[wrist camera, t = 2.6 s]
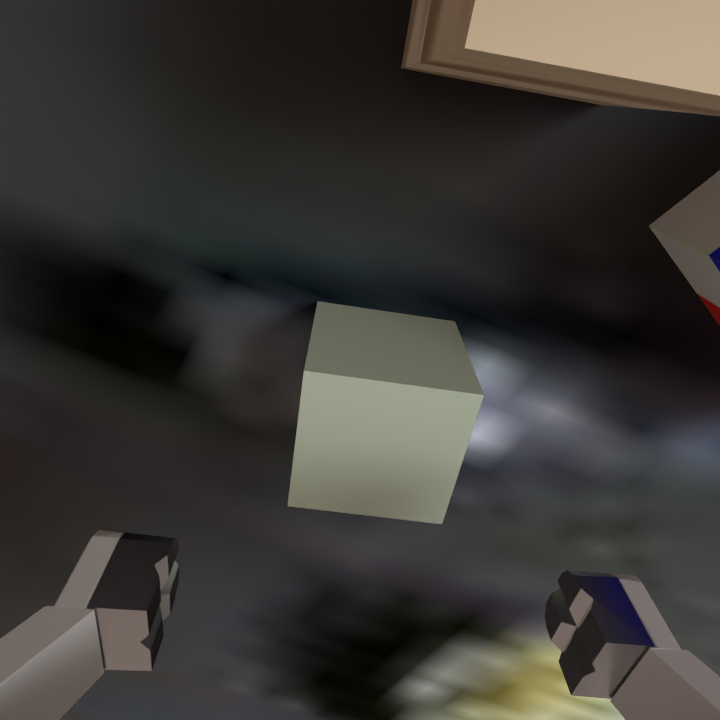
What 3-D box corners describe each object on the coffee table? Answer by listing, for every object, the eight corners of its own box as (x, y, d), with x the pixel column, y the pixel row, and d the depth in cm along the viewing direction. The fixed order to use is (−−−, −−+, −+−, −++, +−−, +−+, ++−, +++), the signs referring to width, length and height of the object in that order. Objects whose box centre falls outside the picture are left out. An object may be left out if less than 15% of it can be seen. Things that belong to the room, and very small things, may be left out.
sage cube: (424, 430, 21) (441, 523, 16) (303, 415, 20) (287, 506, 16) (454, 320, 18) (484, 395, 14) (317, 300, 18) (303, 370, 14)
